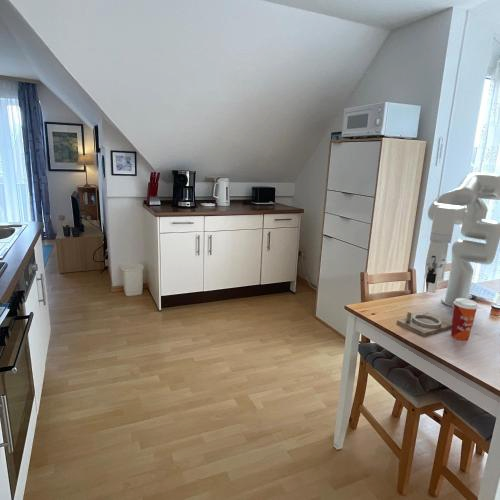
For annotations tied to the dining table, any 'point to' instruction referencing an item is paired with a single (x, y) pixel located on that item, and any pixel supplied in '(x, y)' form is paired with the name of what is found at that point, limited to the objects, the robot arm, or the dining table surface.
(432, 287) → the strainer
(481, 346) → the dining table surface
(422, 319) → the locating board
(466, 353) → the dining table surface
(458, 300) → the coffee cup
